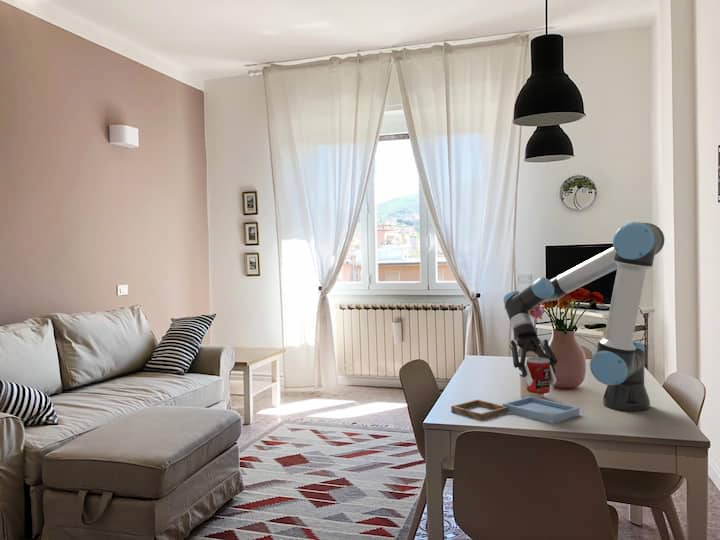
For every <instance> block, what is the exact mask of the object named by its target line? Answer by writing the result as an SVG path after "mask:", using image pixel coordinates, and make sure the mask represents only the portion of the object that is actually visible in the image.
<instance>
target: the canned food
mask: <svg viewBox="0 0 720 540" xmlns="http://www.w3.org/2000/svg"><path fill="white" fill-rule="evenodd" d="M525 365H527V366H528V368H529V371H530V374H531V377H532V380H533V382H532V384H531V386H528V383H527V391H528V392H531V393H536V394H544V395H545V394H548V393H549V392H550V390H551V381H550V360H549V359H547V358H541V357H539V356H538V357H537V356H533V357H532V356H531V357H528V358H526V362H525Z"/></svg>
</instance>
